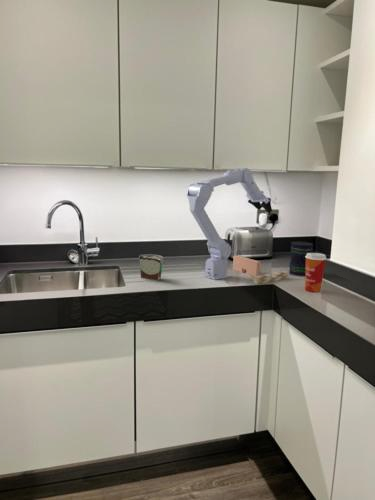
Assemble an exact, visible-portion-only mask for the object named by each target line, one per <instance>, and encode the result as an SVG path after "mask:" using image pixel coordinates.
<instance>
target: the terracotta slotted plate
mask: <svg viewBox="0 0 375 500" xmlns="http://www.w3.org/2000/svg"><path fill="white" fill-rule="evenodd" d="M232 262H233V263H232V270H234V271H237V272H240V273H245V272H246V275H249V276H253V277H254V276H259V275H261V274H260V273H261V271H260V270H261V261H259V260H256V259H253V258H252V259H251V258H249V257H245V256H240V255H233V261H232Z"/></svg>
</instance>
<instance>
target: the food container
mask: <svg viewBox="0 0 375 500" xmlns="http://www.w3.org/2000/svg"><path fill="white" fill-rule="evenodd" d="M138 261H139V271H140V272H139V273H140V279H145V280H149V281H155V282H160V281H161V279H162V268H163V264H164V262H165V261H164V257H163V256H162V255H159V254H151V253H150V254H149V253H147V254H139V256H138Z"/></svg>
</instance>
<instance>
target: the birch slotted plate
mask: <svg viewBox="0 0 375 500" xmlns="http://www.w3.org/2000/svg"><path fill="white" fill-rule="evenodd" d="M252 279H253V281H252V283H253V284H254V285H260V284H261V285H262V284H266V283H271V282H276V281H280V280H287V279H289V271H286V270H283V271H282V270H281V271H278V272H272V273H271V274H269V273H266V274H260V275H259V276H253V278H252Z"/></svg>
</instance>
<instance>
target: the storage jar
mask: <svg viewBox="0 0 375 500" xmlns="http://www.w3.org/2000/svg"><path fill="white" fill-rule="evenodd" d="M313 246H314V243H312V242H309V241H308V242H307V241H299V240H298V241H297V240H296V241H292V242H291V245H290V261H289V269H288V270H289V271H288V275H289V274H290V276H291V275H292V276H296V277H305V271H306V258H305V256H306V254H307V253H313Z"/></svg>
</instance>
